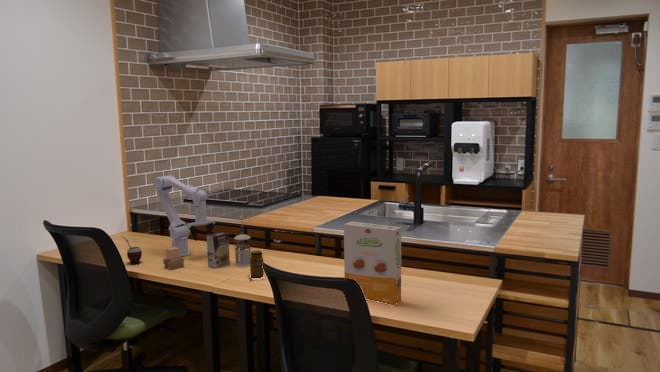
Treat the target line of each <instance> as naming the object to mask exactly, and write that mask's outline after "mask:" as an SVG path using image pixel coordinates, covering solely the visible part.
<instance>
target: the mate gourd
mask: <svg viewBox="0 0 660 372" xmlns="http://www.w3.org/2000/svg"><path fill="white" fill-rule="evenodd" d="M121 238H122V239H124V240H125V242H127V244H128V247H129V248H128V249H127V252H126V253H127V254H126V256H127V259H128V260H129V263H130V264H129V265H131V266H133V265H135V264H137V265H140V264H141V259H142V255H143V252H142V249H141V248H140V246H131V245H130V241H129V240H128V238H126V237H125V236H123V235H122V236H121Z"/></svg>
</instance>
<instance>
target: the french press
mask: <svg viewBox="0 0 660 372" xmlns="http://www.w3.org/2000/svg"><path fill="white" fill-rule="evenodd" d="M243 218H244V216H243V215H239V219H241V221H240V222H241V226H243ZM233 239H234V242H236V243H237V244H235V247H234V251H235V252H234V253H235V255H234V256H235V262H234V263H233V266H234V267H237V268H246V267H250V258H251V252H252V249H251V248H252V247H250V244H249V243H243V241H247V240H248V241H249V240H251V236H250V235H248V234H244V233H240V234H238V235H236V236H234V238H233ZM240 242H241V243H240Z"/></svg>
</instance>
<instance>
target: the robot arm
mask: <svg viewBox="0 0 660 372" xmlns="http://www.w3.org/2000/svg"><path fill="white" fill-rule="evenodd" d="M153 187H154V189H155V191H156V195H157V197H158V200H159V201H160V204H161V207H162V208H163V210H164V212H165V214H166V217H167V218H168V222H169V223H170V224H169V227H168V231H169V236H170V238H172V240H171V248H172V247H176V248H179V257H185V256H190V255H192V253H191V252H189V245H188V244H189V242H188V238H189V236H190V234H191V235H192V238H193V240H194V241H197V240H198V236H197V231H198V228H197V227H201V226H205V228H206V236H207V235H209V234H212V233H213V232H212V231H213V229H214V228H215V224H216V221H215V219H208V220H207V218H208V217H207V202H206V201H207V200H208V199H209V195H208V192H207V191H206V190H205V189H199V188H198V187H194V186H193V185H192V184H184V183H183V182H182V181H180V180H178V179H177V178H176V177H175V176H174V175H172V174H168V175H164V176H163V175H162V176H156V177H155V178H154V181H153ZM173 187H174V188H175V189H177V190H179V191H182V194H183V195H185V196H187V197H189V199H191V200H192V201H193V205H194V216H195V221H194V222H189V223H186V221H184V220H182V219H181V218H180V216H179V213H178V212H177V209H176V206H175V205H174V202H173V201H172V198H171V196H170V195H169V193H170V192H171V191H172V189H173Z"/></svg>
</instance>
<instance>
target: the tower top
mask: <svg viewBox="0 0 660 372" xmlns="http://www.w3.org/2000/svg"><path fill="white" fill-rule="evenodd" d="M162 260H163V265H164V264H166V265H170V266H174V265H178V264H181V263H185V260H184V257H183V256H181V257H179V258H178V259H174V260H169V259H167V257H165V258H162Z"/></svg>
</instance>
